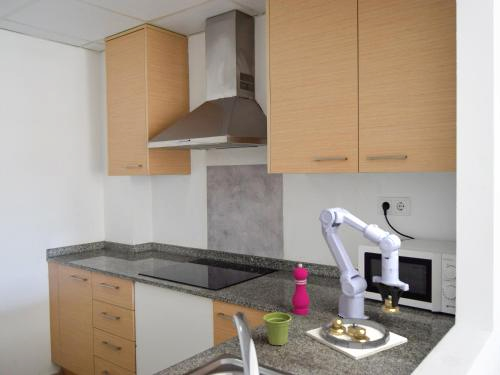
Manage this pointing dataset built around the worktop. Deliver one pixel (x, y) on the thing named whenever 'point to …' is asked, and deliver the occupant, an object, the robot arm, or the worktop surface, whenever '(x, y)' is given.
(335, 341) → the ring gear
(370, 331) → the board
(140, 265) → the worktop surface
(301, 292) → the pepper mill
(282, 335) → the plant pot
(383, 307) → the gear
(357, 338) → the sun and planets
